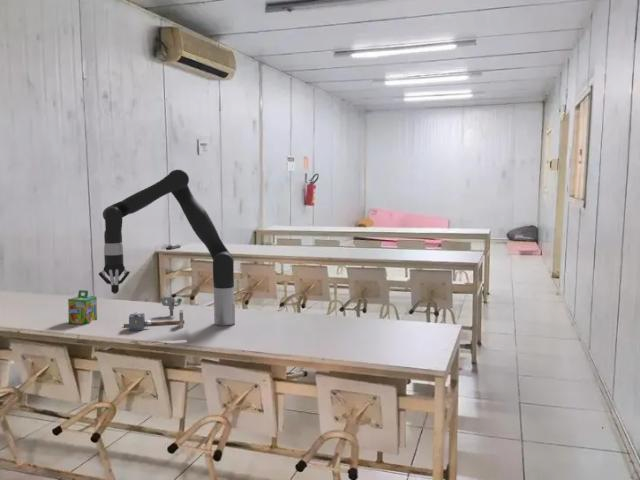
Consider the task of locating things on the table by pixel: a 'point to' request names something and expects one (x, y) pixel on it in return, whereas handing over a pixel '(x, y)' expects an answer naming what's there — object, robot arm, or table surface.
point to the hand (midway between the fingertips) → (115, 293)
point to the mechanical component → (170, 303)
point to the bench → (166, 321)
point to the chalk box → (82, 308)
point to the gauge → (137, 321)
